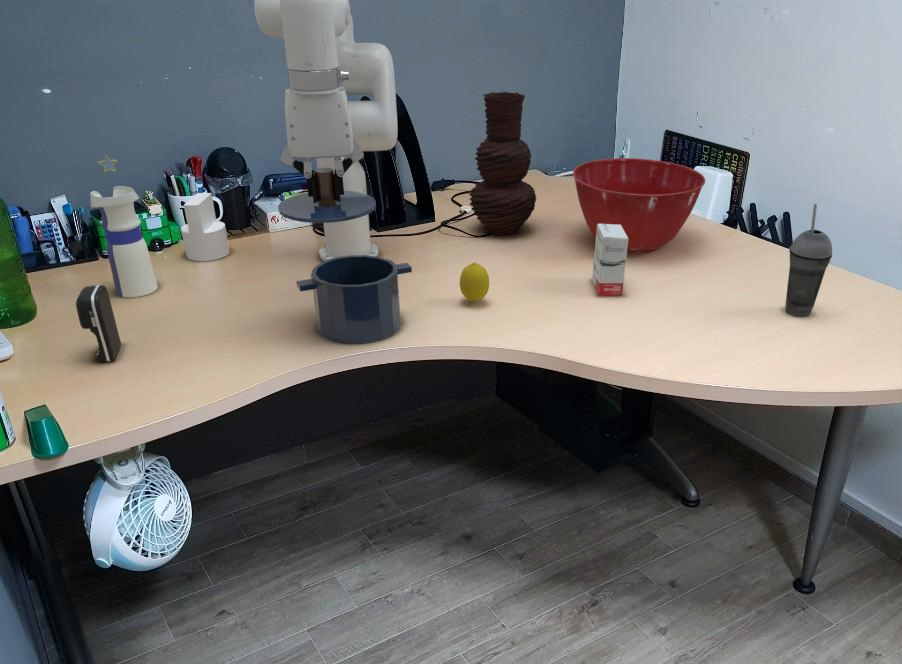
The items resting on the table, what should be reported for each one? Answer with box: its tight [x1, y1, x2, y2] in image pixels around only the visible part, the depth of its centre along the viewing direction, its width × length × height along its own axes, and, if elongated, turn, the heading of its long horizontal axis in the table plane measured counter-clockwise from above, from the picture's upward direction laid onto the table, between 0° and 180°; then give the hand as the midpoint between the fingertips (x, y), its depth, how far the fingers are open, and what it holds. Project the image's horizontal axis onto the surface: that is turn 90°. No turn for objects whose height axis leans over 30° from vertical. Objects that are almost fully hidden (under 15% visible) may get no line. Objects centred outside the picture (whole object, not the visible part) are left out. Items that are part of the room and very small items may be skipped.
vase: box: [469, 91, 537, 236], centre depth 180 cm, size 15×15×30 cm
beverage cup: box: [784, 203, 833, 318], centre depth 143 cm, size 7×7×20 cm
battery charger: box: [75, 284, 122, 362], centre depth 130 cm, size 7×4×11 cm, turn 12°
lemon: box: [459, 262, 490, 304], centre depth 150 cm, size 6×6×8 cm
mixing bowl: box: [572, 157, 706, 254], centre depth 177 cm, size 28×28×15 cm
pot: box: [295, 255, 413, 345], centre depth 140 cm, size 15×20×10 cm
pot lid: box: [277, 168, 377, 224], centre depth 130 cm, size 16×16×7 cm
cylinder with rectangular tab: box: [180, 192, 230, 262], centre depth 171 cm, size 9×9×12 cm
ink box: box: [591, 224, 628, 297], centre depth 155 cm, size 8×5×12 cm, turn 2°
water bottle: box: [89, 154, 159, 298], centre depth 150 cm, size 8×9×25 cm
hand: (326, 198), depth 131 cm, fingers closed on pot lid, 3 cm apart
